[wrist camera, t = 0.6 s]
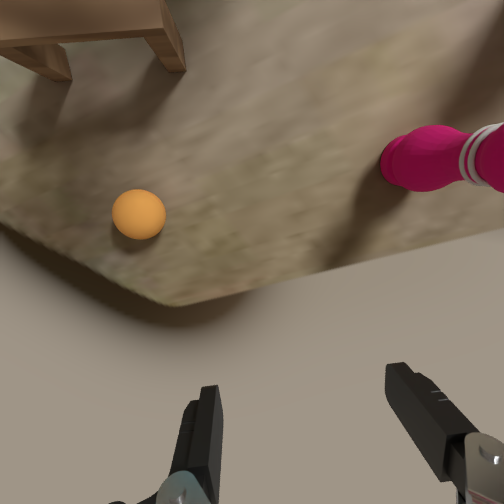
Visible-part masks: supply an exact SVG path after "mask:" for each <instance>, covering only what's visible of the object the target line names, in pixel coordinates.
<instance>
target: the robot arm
mask: <svg viewBox="0 0 504 504" xmlns="http://www.w3.org/2000/svg"><path fill="white" fill-rule="evenodd" d="M385 374H386V375H385V394H386V398H387V401H388V402H389V405H390V406H391V408H392V409H393V411H394V412H395V414H396V415H397V417H398V418H399V420H400V421H401V423H402V425H403V426H404V428H405V429H406V431H407V432H408V434H409V435H410V437H411V438H412V440H413V441H414V443H415V444H416V446H417V447H418V449H419V451H420V452H421V454H422V455H423V457H424V458H425V460H426V461H427V463H428V464H429V466H430V467H431V469H432V470H433V472H434V473H435V475H436V476H437V478H438V480H439V481H440V482H446V481H452V482H453V484H454V485H455V486H456V488H457V490H456V504H504V444H503V443H502V442H501V441H499V440H498V439H496V438H494V437H492V436H489V435H487V434H483V433H480V432H479V431H478V429H477V428H476V427H474V425H473V424H472V423H471V422H470V421H469V420H468V419H467V418H466V417H465V416H464V415H463V414H462V412H460V410H459V409H458V408H457V407H456V406H455V405H454V404H453V403H452V402H451V401H450V400H449V399H448V398H447V396H446V395H445V394H444V393H443V392H441V391H440V389H439V388H438V387H437V386H436V385H435V384H434V383H433V381H432V380H430V379H429V378H427V377H425V376H424V375H422V374H421V373H414V372H413V371H412V370H411V369H410V367H409V366H408V365H407V364H406V363H404V362H400V363H392V364H387V365H386V373H385ZM222 439H223V410H222V404H221V398H220V393H219V387H218V385H213V386H205V387H202V388H201V393H200V398H199V400H193V401H190V403H189V404H188V406H187V407H186V409H185V410H184V414H183V418H182V423H181V426H180V430H179V435H178V439H177V444H176V448H175V452H174V456H173V461H172V465H171V469H170V473H169V476H168V478H167V479H166V480H165V481H164V482H163V483H162V485H161V487H160V488H159V490H158V491H157V492H156V493H155V494H154V495H152V496H151V497H149V498H147V499H145V500H143V501H141V502H139V503H137V504H218V503H219V487H220V471H221V454H222ZM109 504H125V503H124V502H121V501H116V502H112V503H109Z"/></svg>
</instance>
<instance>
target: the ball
mask: <svg viewBox="0 0 504 504" xmlns="http://www.w3.org/2000/svg"><path fill="white" fill-rule="evenodd" d="M112 217H113V221H114V223H115V225H116V227H117V228H118V230H119V231H120V232H122V233H123V234H124V235H126V236H128V237H130V238H133V239H148V238H151V237H153V236H155V235H156V234H157V233H159V232H160V230H161V229H162V228H163V226H164V224H165V220H166V211H165V208H164V205H163V203H162V202H161V200H160V199H159V198H158V197H157V196H156V195H154V194H153V193H151V192H148V191H146V190H140V189H135V190H130V191H127V192H125V193H123V194H122V195H120V196H119V197H118V198H117V200H116V201H115V203H114V205H113V209H112Z"/></svg>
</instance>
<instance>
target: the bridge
mask: <svg viewBox="0 0 504 504" xmlns="http://www.w3.org/2000/svg"><path fill="white" fill-rule="evenodd" d="M136 37H144V38H145V40H146V41H147V43H148V44H149V45H150V47H151V48H152V50H153V51H154V52H155V54H156V55H157V57H158V58H159V59H160V61H161V62H162V64H163V65H164V66H165V68H166V69H167V71H168V72H169V73H170V72H183V71H186V65H185V58H184V50H183V43H182V39H181V37H180V34H179V32H178V30H177V27H176V25H175V23H174V20H173V18H172V16H171V14H170V11H169V9H168V7H167V4H166V2H165V0H0V55H1V56H3V57H5V58H7V59H9V60H11V61H13V62H15V63H17V64H19V65H21V66H23V67H26V68H28V69H30V70H32V71H34V72H36V73H38V74H40V75H42V76H44V77H46V78H48V79H50V80H53V81H55V82H57V81H69V80H72V76H71V72H70V68H69V64H68V60H67V56H66V52H65V49H64V48H62V47H61V46H59V45H58V43H71V42H84V41H97V40H110V39H123V38H136Z"/></svg>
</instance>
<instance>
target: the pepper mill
mask: <svg viewBox="0 0 504 504" xmlns="http://www.w3.org/2000/svg"><path fill="white" fill-rule="evenodd" d="M380 167H381V172H382V175H383V176H384V178H385V179H386V180H387V181H388V182H389V183H391V184H393V185H398V186H403V187H404V188H406V189H408V190H411V191H416V192H428V191H433V190H437V189H440V188H442V187H445V186H446V185H448V184H450V183H452V182H454V181H459V180H466V181H467V182H468V183H470V184H472V185H476V186H487V187H493V188H494V189H495V190H497V191H499V192H502V193H504V123H499V124H492V125H488V126H485V127H483V128H481V129H479V130H478V131H476V132H475V133H469V134H467V133H462V132H460V131H458V130H456V129H454V128H452V127H448V126H443V125H429V126H424V127H420V128H418V129H416V130H413V131H412V132H410V133H409V134H408V135H403V136H400V137H397V138H396V139H394V140H393V141H391V142H390V143H389V144H388V145H387V147H386V148H385V150H384V152H383V154H382V157H381V162H380Z"/></svg>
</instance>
